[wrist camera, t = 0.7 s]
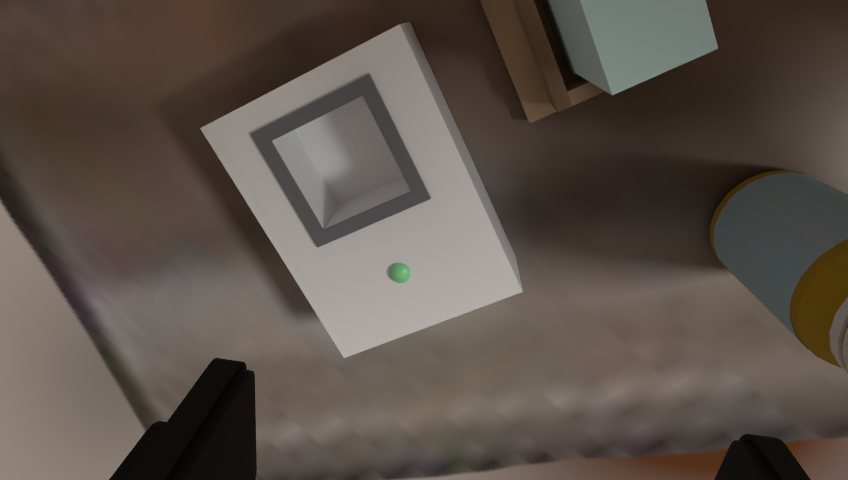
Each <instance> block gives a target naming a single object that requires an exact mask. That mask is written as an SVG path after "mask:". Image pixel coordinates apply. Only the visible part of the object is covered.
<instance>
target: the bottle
mask: <svg viewBox="0 0 848 480" xmlns="http://www.w3.org/2000/svg"><path fill="white" fill-rule="evenodd" d="M710 242H711V245H712V248H713V251H714V253H715V255H716V256H717V257H718V258H719V260H720V261H721V262H722V263H723V264H724V265H725V267H726V268H727V269H728V270H729V271H730V272H731V273H732V274H733V275H734V276H735V277H736V278H737V279H738V280H739V281H740V282H741V283H742V284H743V285H744V286H745V287H746V288H747V289H748V290H749V291H750V292H751V293H752V294H753V295H754V296H755V297H756V298H757V299H758V300H759V301H760V302H761V303H762V304H763V305H764V306H765V307H766V308H767V309H768V310H769V311H770V312H771V313H772V314H773V315H774V316H775V317H776V318H777V319H778V320H779V321H780V322H781V323H782V324H783V325H784V326H785V327H786V328H787V329H788V330H789V331H790V332H791V333H792V334H793V335H794V336H795V337H796V338H797V339H798V340H799V341H800V342H801V343H802V344H803V345H804V346H805V347H806V348H808V349H809V350H810V351H811V352H812V353H813V354H815V355H816V356H817V357H819V358H821V359H823V360H825V361H827V362H829V363H831V364H833V365H835V366H838V367H840V368H842V369H843V370H845V371H846V372H847V373H848V194H846V193H844V192H842V191H840V190H838V189H836V188H834V187H832V186H830V185H828V184H826V183H823V182H821V181H819V180H817V179H815V178H813V177H811V176H809V175H806V174H804V173H801V172H796V171H789V170H776V171H769V172H764V173H761V174H758V175H756V176H754V177H751V178H749V179H747V180H745V181H743V182H742V183H740V184H739V185H738V186H736V187H735V188H734V189H732V190H731V191H730V192H729V193H728V194H727V195H726V196H725V198H724V199H723V200H722V201H721V203H720V204H719V205H718V207H717V209H716V210H715V213H714V216H713V218H712V221H711V225H710Z"/></svg>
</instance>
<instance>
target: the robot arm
mask: <svg viewBox="0 0 848 480" xmlns="http://www.w3.org/2000/svg"><path fill="white" fill-rule="evenodd" d="M256 470H257V466H256V419H255V376H254V372H253V371H250V370H247V369H246V364H245V363H244V362H240V361H233V360H226V359H219V358H215V359H213V360H212V361H211V363H210V364H209V365H208V367H207V368H206V369H205V371H204V372H203V373H202V375H201V376H200V378H199V379H198V380H197V382H196V383H195V384H194V386H193V387H192V389H191V390H190V391H189V393H188V394H187V395H186V397H185V398H184V400H183V401H182V402H181V404H180V405H179V406H178V408H177V409H176V411H175V412H174V413H173V415H172V416H171V417H170V419H169V420H168V422H161V421H158V422H156V423H154V424H152V425H151V427H150V428H149V429H148V430H147V431H146V432H145V433H144V435H143V436H142V437H141V439H140V440H139V441H138V443H137V444H136V445H135V447H134V448H133V449H132V451H131V452H130V453H129V454H128V456H127V457H126V458H125V460H124V461H123V462H122V464H121V465H120V466H119V468H118V469H117V470H116V472H115V473H114V474H113V476H112V477H111V478H110V479H109V480H255V478H256ZM715 480H810V478H809V477H808V476H807V474H806V473H805V471H804V470H803V469H802V467H801V466H800V464H799V463H798V461H797V460H796V459H795V457H794V456H793V455H792V453H791V452H790V450H789V449H788V447H787V446H786V445H785V444H784V443H783V441H782V440H780V439H778V438H772V437H765V436H758V435H751V434H745V435H743V436H742V437H741V438H740V439H739V441H738V440H735V441H733V442H732V443H731V445H730V447H729V449H728V451H727V453H726V456H725V458H724V460H723V462H722V464H721V467H720V469H719V471H718V474H717V475H716V478H715Z"/></svg>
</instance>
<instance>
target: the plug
mask: <svg viewBox="0 0 848 480" xmlns="http://www.w3.org/2000/svg"><path fill="white" fill-rule="evenodd" d="M542 2H543V5H544V8H545V11H546V13H547V16H548V19H549V22H550V24H551V27H552V30H553V33H554V35H555V38H556V41H557V44H558V46H559V49H560V52H561V55H562V57H563V60H564V63H565V66H566V68H567V70H568V71H570V72H572V73H573V74H578V75H579V76H581V77H583V78H584V79H586V80H588V81H589V82H591V83H593V84H594V85H596V86H597V87H599V88H601V89H602V90H604V91H606V92H607V93H609V94H611V95H614V94H617V93H619V92H621V91H624V90H626V89H628V88H630V87H633V86H635V85H637V84H639V83H642V82H644V81H646V80H648V79H651V78H653V77H655V76H657V75H660V74H662V73H664V72H666V71H669V70H671V69H673V68H676V67H678V66H680V65H682V64H685V63H687V62H689V61H691V60H694V59H696V58H698V57H700V56H703V55H705V54H707V53H709V52H712V51H714V50H716V49H718V46H717V42H716V38H715V34H714V30H713V27H712V23H711V19H710V15H709V11H708V7H707V4H706V0H542Z"/></svg>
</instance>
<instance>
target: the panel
mask: <svg viewBox="0 0 848 480" xmlns="http://www.w3.org/2000/svg"><path fill="white" fill-rule="evenodd" d="M200 129H201V131H202V132H203V134H204V135H205V137H206V139H207V140H208V142H209V143H210V145H211V147H212V148H213V150H214V151H215V153H216V155H217V156H218V158H219V159H220V161H221V163H222V164H223V166H224V167H225V169H226V171H227V172H228V174H229V175H230V177H231V178H232V180H233V182H234V183H235V185H236V186H237V188H238V190H239V191H240V193H241V194H242V196H243V198H244V199H245V201H246V202H247V204H248V206H249V207H250V209H251V210H252V212H253V214H254V215H255V217H256V218H257V220H258V222H259V223H260V225H261V226H262V228H263V230H264V231H265V233H266V234H267V236H268V238H269V239H270V241H271V242H272V244H273V245H274V247H275V249H276V250H277V252H278V253H279V255H280V257H281V258H282V260H283V261H284V263H285V265H286V266H287V268H288V269H289V271H290V273H291V274H292V276H293V277H294V279H295V281H296V282H297V284H298V285H299V287H300V289H301V290H302V292H303V293H304V295H305V297H306V298H307V300H308V301H309V303H310V305H311V306H312V308H313V309H314V311H315V312H316V314H317V316H318V317H319V319H320V320H321V322H322V324H323V325H324V327H325V328H326V330H327V332H328V333H329V335H330V336H331V338H332V340H333V341H334V343H335V344H336V346H337V348H338V349H339V351H340V352H341V354H342V356H343V357H344V358H345V357H348V356H351V355H354V354H356V353H359V352H362V351H364V350H367V349H370V348H372V347H375V346H378V345H381V344H383V343H386V342H389V341H391V340H394V339H397V338H399V337H402V336H405V335H408V334H410V333H413V332H416V331H418V330H421V329H424V328H426V327H429V326H432V325H434V324H437V323H440V322H443V321H445V320H448V319H451V318H453V317H456V316H459V315H461V314H464V313H467V312H470V311H472V310H475V309H478V308H480V307H483V306H486V305H488V304H491V303H494V302H497V301H499V300H502V299H505V298H507V297H510V296H513V295H515V294H518V293H521V292H523V291H522V286H521V281H520V276H519V271H518V266H517V261H516V256H515V253H514V251H513V249H512V247H511V245H510V242H509V240H508V238H507V236H506V234H505V231H504V229H503V227H502V225H501V222H500V220H499V218H498V216H497V214H496V211H495V209H494V207H493V205H492V203H491V200H490V198H489V196H488V194H487V191H486V189H485V187H484V185H483V183H482V180H481V178H480V176H479V174H478V172H477V169H476V167H475V165H474V163H473V161H472V158H471V156H470V154H469V152H468V149H467V147H466V145H465V143H464V141H463V138H462V136H461V134H460V132H459V130H458V127H457V125H456V123H455V121H454V118H453V116H452V114H451V112H450V110H449V107H448V105H447V103H446V101H445V99H444V96H443V94H442V92H441V90H440V87H439V85H438V83H437V81H436V79H435V76H434V74H433V72H432V70H431V68H430V65H429V63H428V61H427V59H426V57H425V54H424V52H423V50H422V48H421V45H420V43H419V41H418V39H417V37H416V34H415V32H414V30H413V28H412V26H411V23H410V22H406V23H402V24H399V25H397V26H395V27H393V28H391V29H390V30H388V31H386V32H384V33H382V34H380V35H378V36H376V37H374V38H372V39H370V40H368V41H367V42H365V43H363V44H361V45H359V46H357V47H355V48H353V49H351V50H349V51H347V52H345V53H344V54H342V55H340V56H338V57H336V58H334V59H332V60H330V61H328V62H326V63H324V64H322V65H321V66H319V67H317V68H315V69H313V70H311V71H309V72H307V73H305V74H303V75H301V76H299V77H298V78H296V79H294V80H292V81H290V82H288V83H286V84H284V85H282V86H280V87H278V88H276V89H275V90H273V91H271V92H269V93H267V94H265V95H263V96H261V97H259V98H257V99H255V100H253V101H252V102H250V103H248V104H246V105H244V106H242V107H240V108H238V109H236V110H234V111H232V112H230V113H229V114H227V115H225V116H223V117H221V118H219V119H217V120H215V121H213V122H211V123H209V124H207V125H206V126H204V127H202V128H200Z"/></svg>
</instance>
